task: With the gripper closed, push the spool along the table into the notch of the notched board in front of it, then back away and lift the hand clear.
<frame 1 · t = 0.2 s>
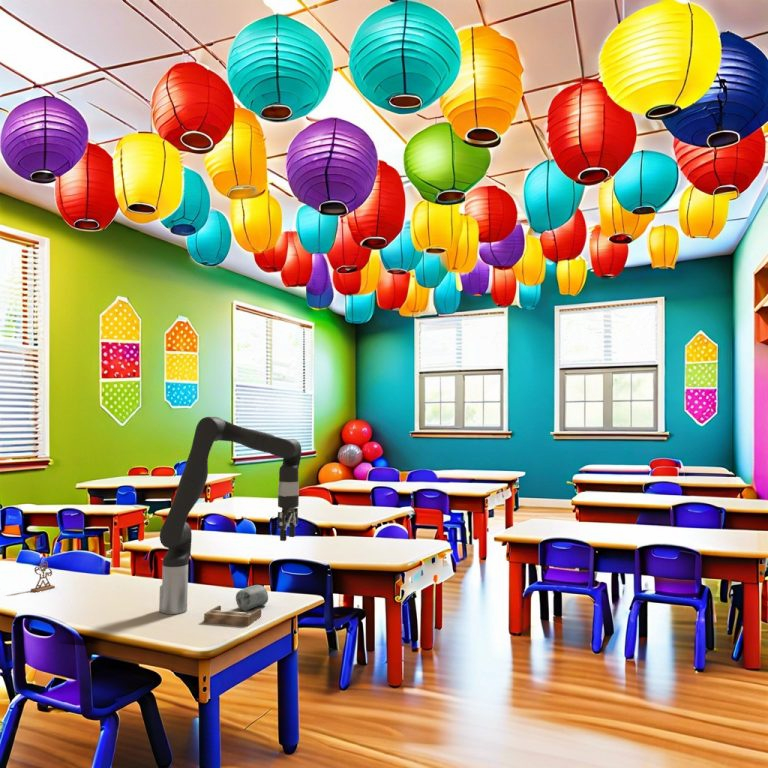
hand: (287, 538, 248), 29 cm above the table, fingers open, 8 cm apart
spool: (251, 608, 262), on the table
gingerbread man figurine: (42, 590, 286), on the table
notched board: (238, 616, 250), on the table
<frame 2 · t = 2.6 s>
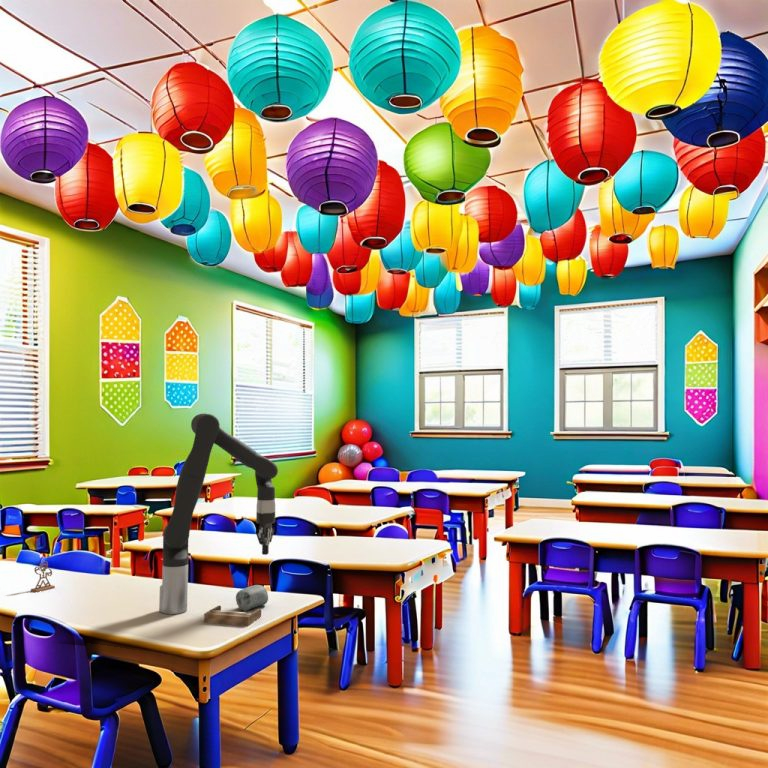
hand: (265, 554, 274), 18 cm above the table, fingers closed
nothing on the table moved.
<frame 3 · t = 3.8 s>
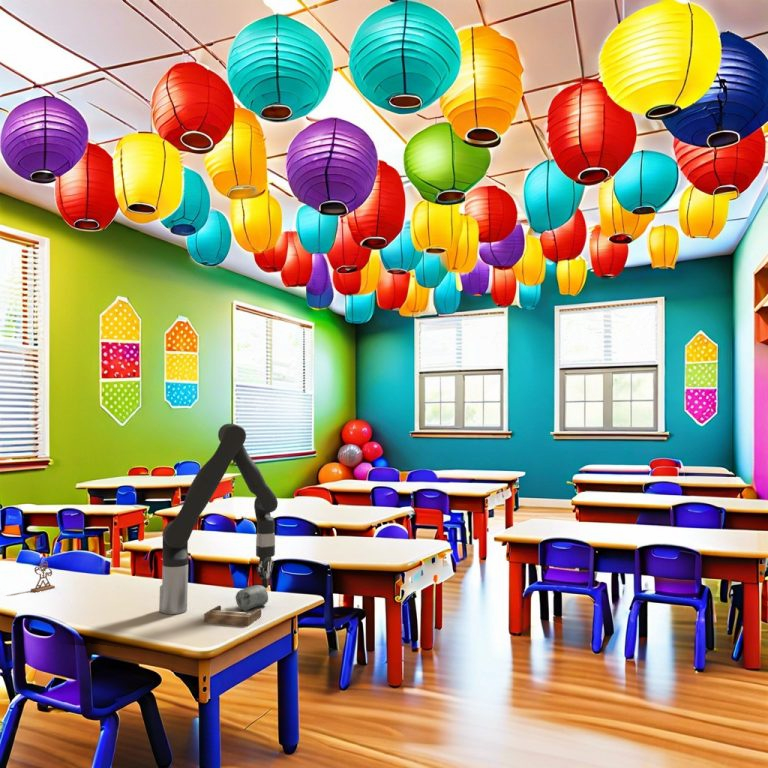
hand: (265, 587, 274), 5 cm above the table, fingers closed
nothing on the table moved.
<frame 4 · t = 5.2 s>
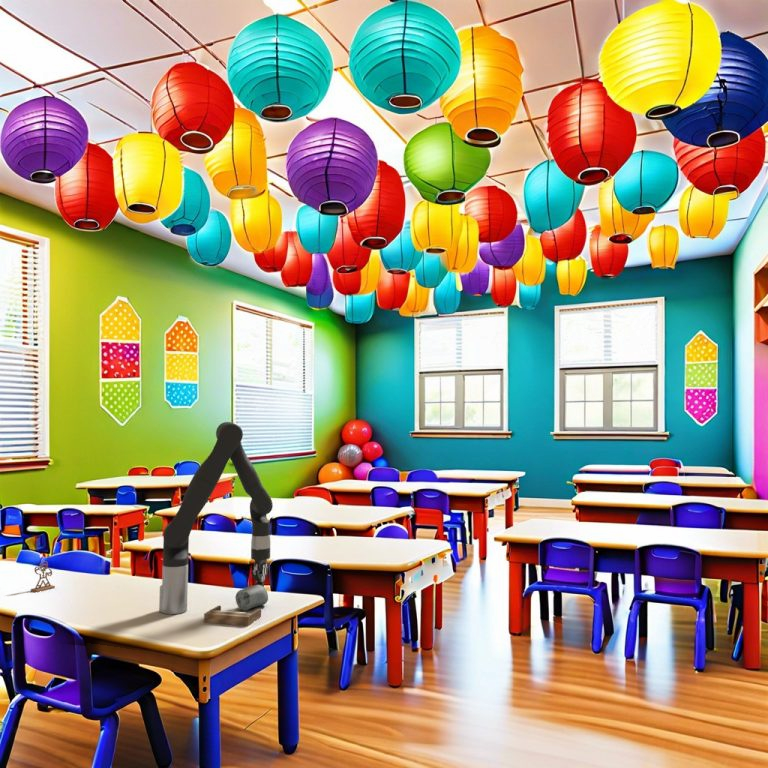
hand: (260, 590, 269), 4 cm above the table, fingers closed
spool: (251, 608, 261), on the table, touching gripper
everything else where it was.
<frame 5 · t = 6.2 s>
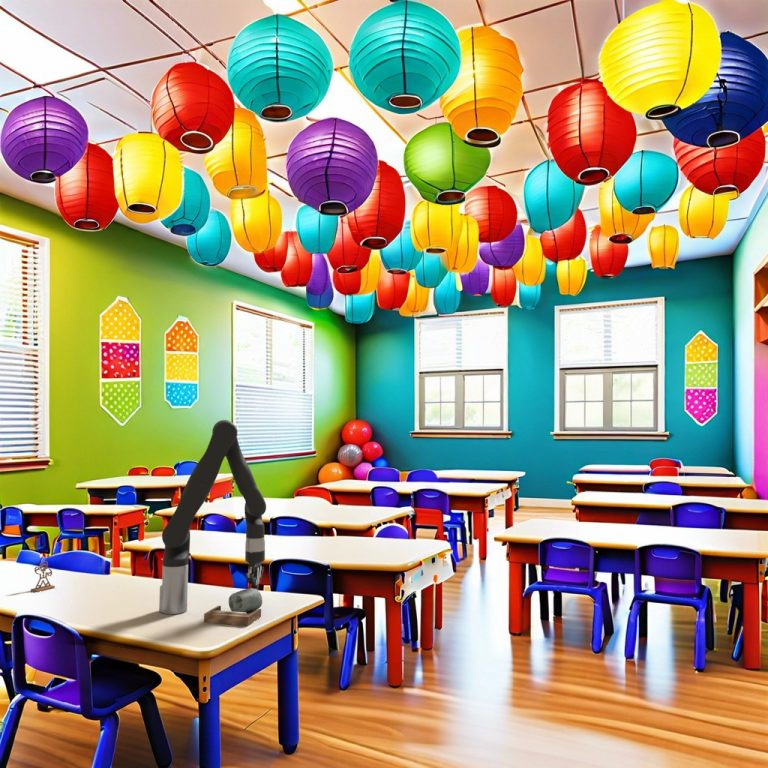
hand: (254, 594, 264), 5 cm above the table, fingers closed
spool: (245, 612, 256), on the table, touching gripper
everything else where it was.
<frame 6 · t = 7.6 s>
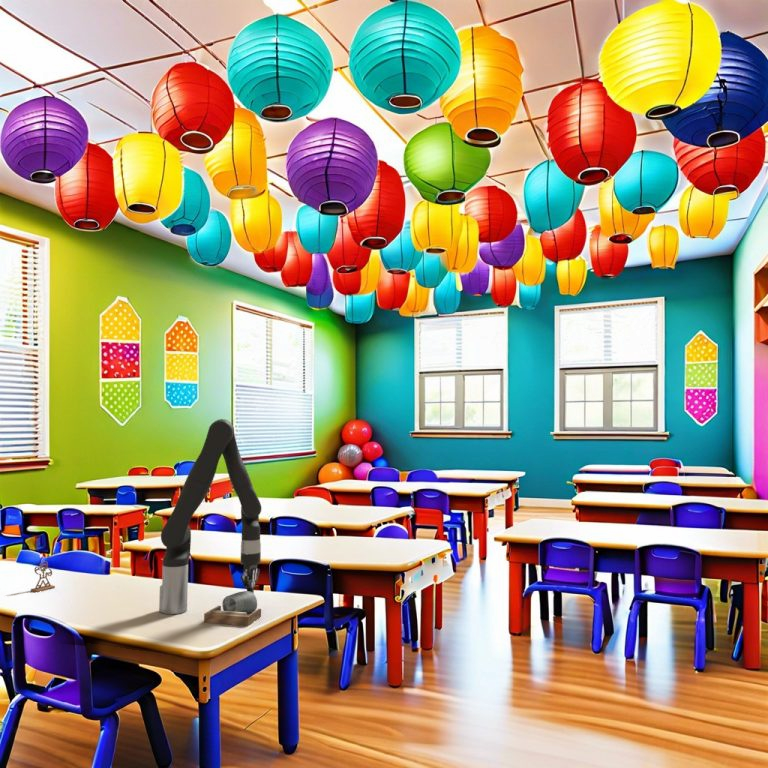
hand: (250, 597, 260), 5 cm above the table, fingers closed
spool: (239, 615, 252), on the table, touching gripper
everything else where it was.
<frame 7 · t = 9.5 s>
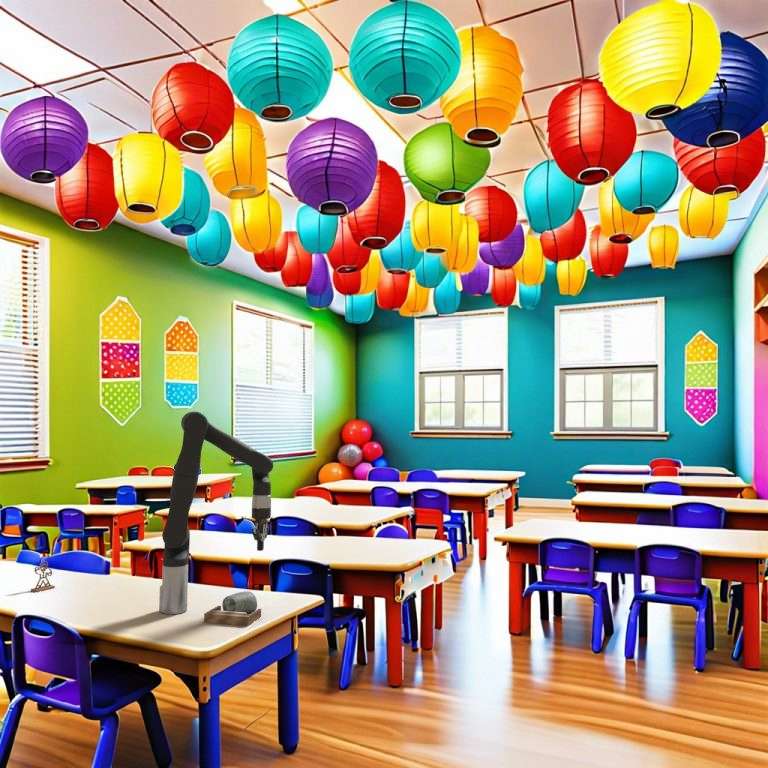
hand: (260, 550, 270), 20 cm above the table, fingers closed
spool: (239, 615, 252), on the table
everything else where it was.
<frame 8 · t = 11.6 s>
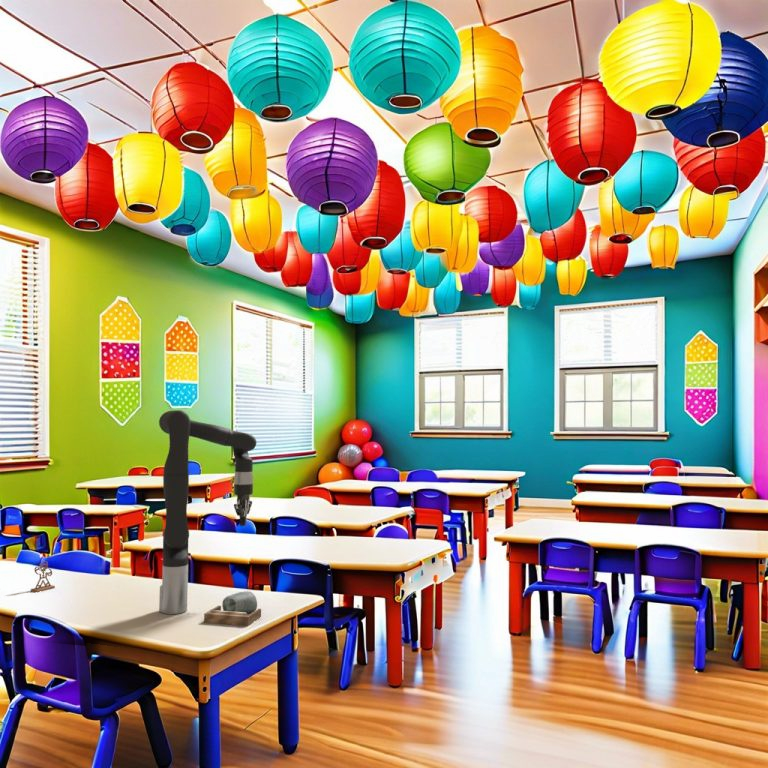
hand: (242, 525, 277), 29 cm above the table, fingers closed
nothing on the table moved.
at the end: spool inside the target area on the notched board (0.4 cm from its centre), point 0.0 cm above the notched board's base; spool moved 10.2 cm from its start; the gripper is holding nothing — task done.
